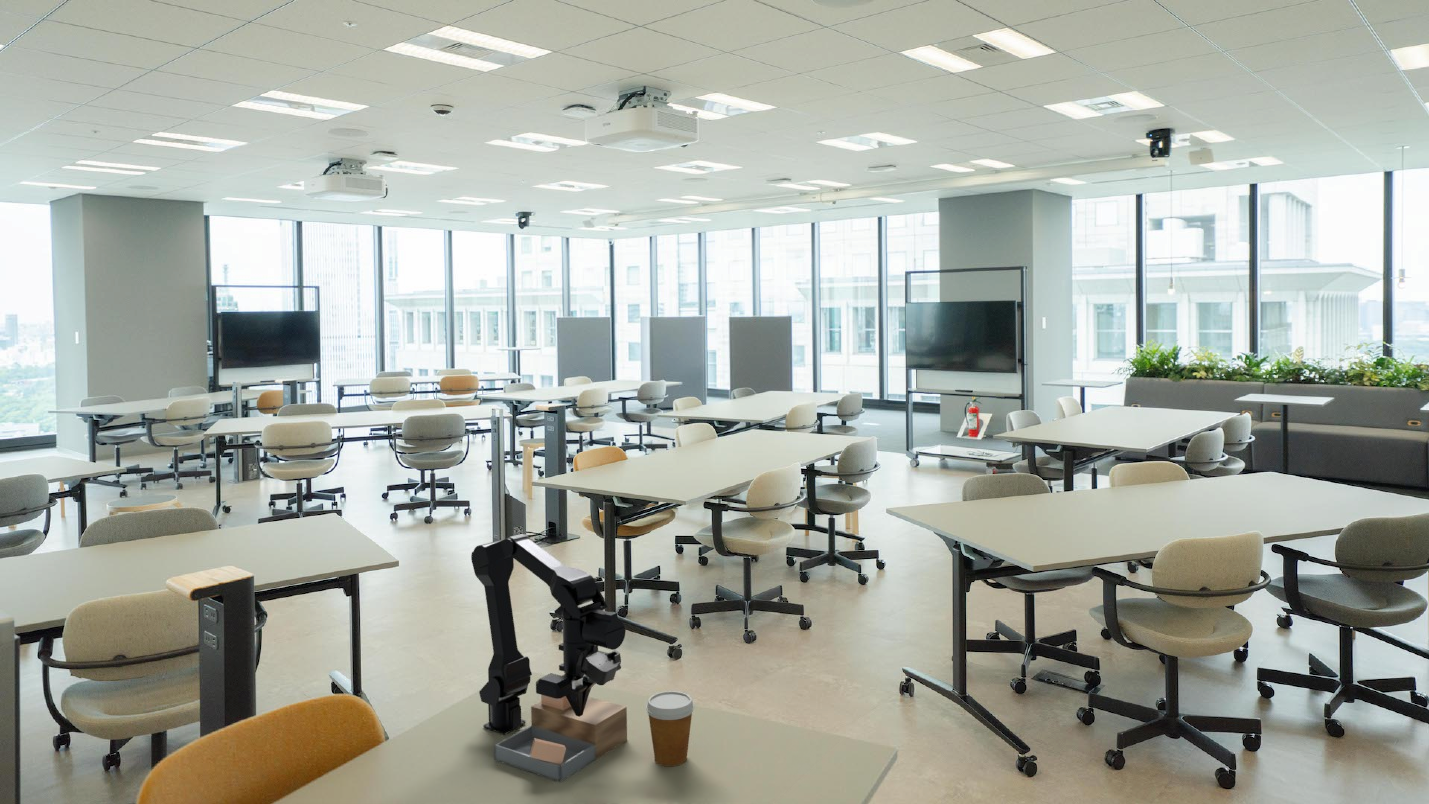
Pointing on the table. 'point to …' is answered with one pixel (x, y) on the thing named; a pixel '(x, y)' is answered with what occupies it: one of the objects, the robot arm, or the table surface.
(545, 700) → the tile
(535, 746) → the tile
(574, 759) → the tray
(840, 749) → the table surface
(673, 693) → the disposable coffee cup
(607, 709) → the brown wooden block
